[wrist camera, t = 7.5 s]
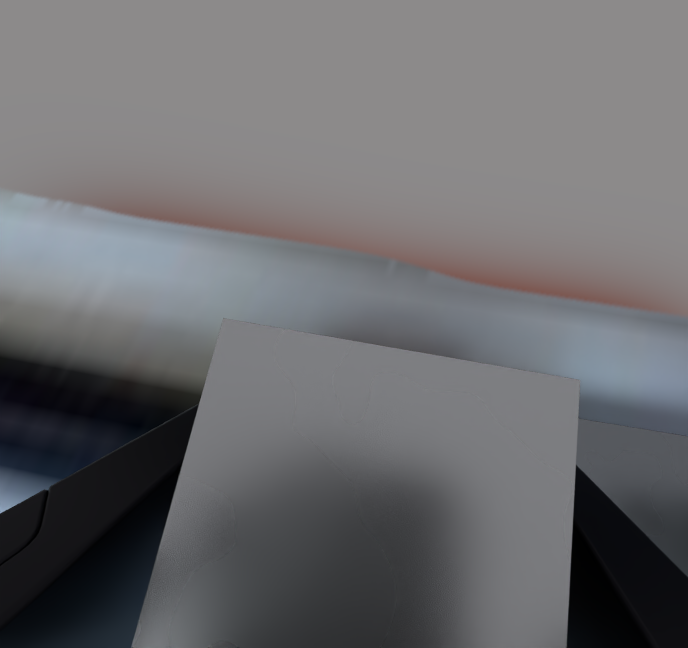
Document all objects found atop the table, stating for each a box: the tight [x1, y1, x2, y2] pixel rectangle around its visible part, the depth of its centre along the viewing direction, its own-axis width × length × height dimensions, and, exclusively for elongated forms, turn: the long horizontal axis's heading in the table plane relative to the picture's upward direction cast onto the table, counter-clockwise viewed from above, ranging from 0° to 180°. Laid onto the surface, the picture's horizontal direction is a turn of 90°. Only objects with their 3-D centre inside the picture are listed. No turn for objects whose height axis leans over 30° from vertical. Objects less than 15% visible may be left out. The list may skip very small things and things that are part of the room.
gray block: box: [131, 318, 580, 648], centre depth 10 cm, size 4×4×12 cm
